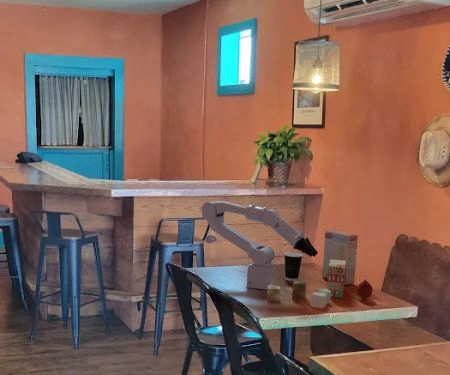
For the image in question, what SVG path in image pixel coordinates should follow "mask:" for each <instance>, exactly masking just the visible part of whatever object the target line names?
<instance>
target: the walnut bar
mask: <svg viewBox="0 0 450 375" xmlns="http://www.w3.org/2000/svg"><path fill="white" fill-rule="evenodd" d="M306 292H307V281H303V280H302V281H300V280H297V281H293V282H292V295H291V296H292V297H291V299H292V300H296V299H297V301H305V299H306Z"/></svg>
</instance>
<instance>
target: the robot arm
mask: <svg viewBox="0 0 450 375" xmlns="http://www.w3.org/2000/svg"><path fill="white" fill-rule="evenodd" d="M226 212H227V213H234V214H237V215H242V216H244V217H245V219H247V220H251V221H255V222H258V223H262V224H263V225H264V226H267V227H268V226H269V227H270V228H271V229H273V231H275V233H277V234H278V235H279V236H281V237H282V238H283V239H284V240H285V241H287V243H289V244H290V246H291V247H292V248H293V249H294V250H297V251H300V252H301V253H303V254H306V256H309V257H316V256H317V255H318V250H317V249H316V248H315V247H314V246H313V245H312V243H311V240H310V239H309V237H306V238H305V237H304V234H305V231H303V230H302V231H301V232H300V231H299V230H297V229H296V228H295V227H294V226H292V225H291V224H290V223H289V222H288V221H287V220H285V219H284V218H283V217H282V216H280V213H279V211H278V210H276V209H274V208H267V207H265V206H264V207H260V206H257V205H256V204H254V203H253V204H249V205H248V206H243V205H241V204H236V203H232V202H229V201H226V200H219V199H216V200H213V201H206V202H204V203H203V204H202V206H201V216H202V218H203V219H205V220H206V222H207V224H208V226H209V227H210V229H211V230H212V231H213V232H215V233H216V234H217V235H219V236H221V237H222V238H224V239H225V240H226V241H228V242H229V243H231V244H233V245H234V246H236V247H237V248H239V249H241V250H242V251H244V252H245V253H246V254H247V257H248V258H249V259H250V260H251V261H252V263H249V264H248V266H247V274H246V286H245V288H249V289H251V288H252V289H256V290H257V289H259V290H260V289H261V290H266V291H267V289H268V285H270V286H274V284H273V283H272V268H273V263H272V261H273V260H274V259H275V250H274V249H273V248H272V247H270V246H265V245H263V244H261V243H258V242H256V241H253V240H252V239H251V238H249V237H247V236H246V235H244V234H243V233H241V232H239V231H238V230H237V229H235V228H233V227H232V226H230V225H228V224H227V223H226V222H225V220H224V219H225V218H224V217H225V213H226Z"/></svg>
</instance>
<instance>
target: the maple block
mask: <svg viewBox="0 0 450 375" xmlns="http://www.w3.org/2000/svg"><path fill="white" fill-rule="evenodd" d="M266 292H267V293H266V301H276V302H279V301H280V298H281V297H280V296H281V286H280V285H273V286H270V285H268V289H267V290H266Z"/></svg>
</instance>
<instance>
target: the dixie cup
mask: <svg viewBox="0 0 450 375" xmlns="http://www.w3.org/2000/svg"><path fill="white" fill-rule="evenodd" d="M283 255H284V271H285V272H284V274H285V280H286V281H289V282H294V281H298V279H299V277H300V270H301V265H302V258H303V257H304V254H302V252H301V253H300V252H297V251H296V252H294V251H286V252H284V253H283Z"/></svg>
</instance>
